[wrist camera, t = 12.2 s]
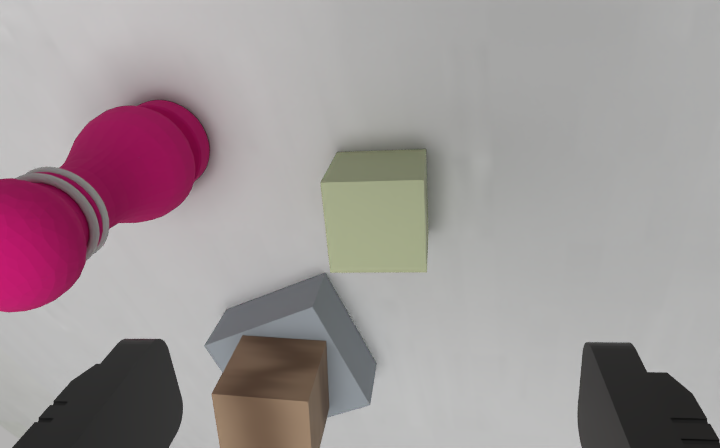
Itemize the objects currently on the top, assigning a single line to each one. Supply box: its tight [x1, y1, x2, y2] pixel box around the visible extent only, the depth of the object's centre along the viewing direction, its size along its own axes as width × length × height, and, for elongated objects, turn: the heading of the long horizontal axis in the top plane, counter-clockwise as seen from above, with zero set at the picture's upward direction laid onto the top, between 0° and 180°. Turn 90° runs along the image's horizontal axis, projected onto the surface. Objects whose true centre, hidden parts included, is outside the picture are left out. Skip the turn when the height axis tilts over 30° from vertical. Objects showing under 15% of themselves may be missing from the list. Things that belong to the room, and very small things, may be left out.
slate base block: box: [204, 273, 376, 417], centre depth 43 cm, size 9×9×5 cm
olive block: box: [321, 149, 428, 273], centre depth 36 cm, size 6×6×6 cm
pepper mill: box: [0, 100, 210, 312], centre depth 31 cm, size 7×7×20 cm
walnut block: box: [212, 335, 329, 448], centre depth 38 cm, size 6×6×6 cm
